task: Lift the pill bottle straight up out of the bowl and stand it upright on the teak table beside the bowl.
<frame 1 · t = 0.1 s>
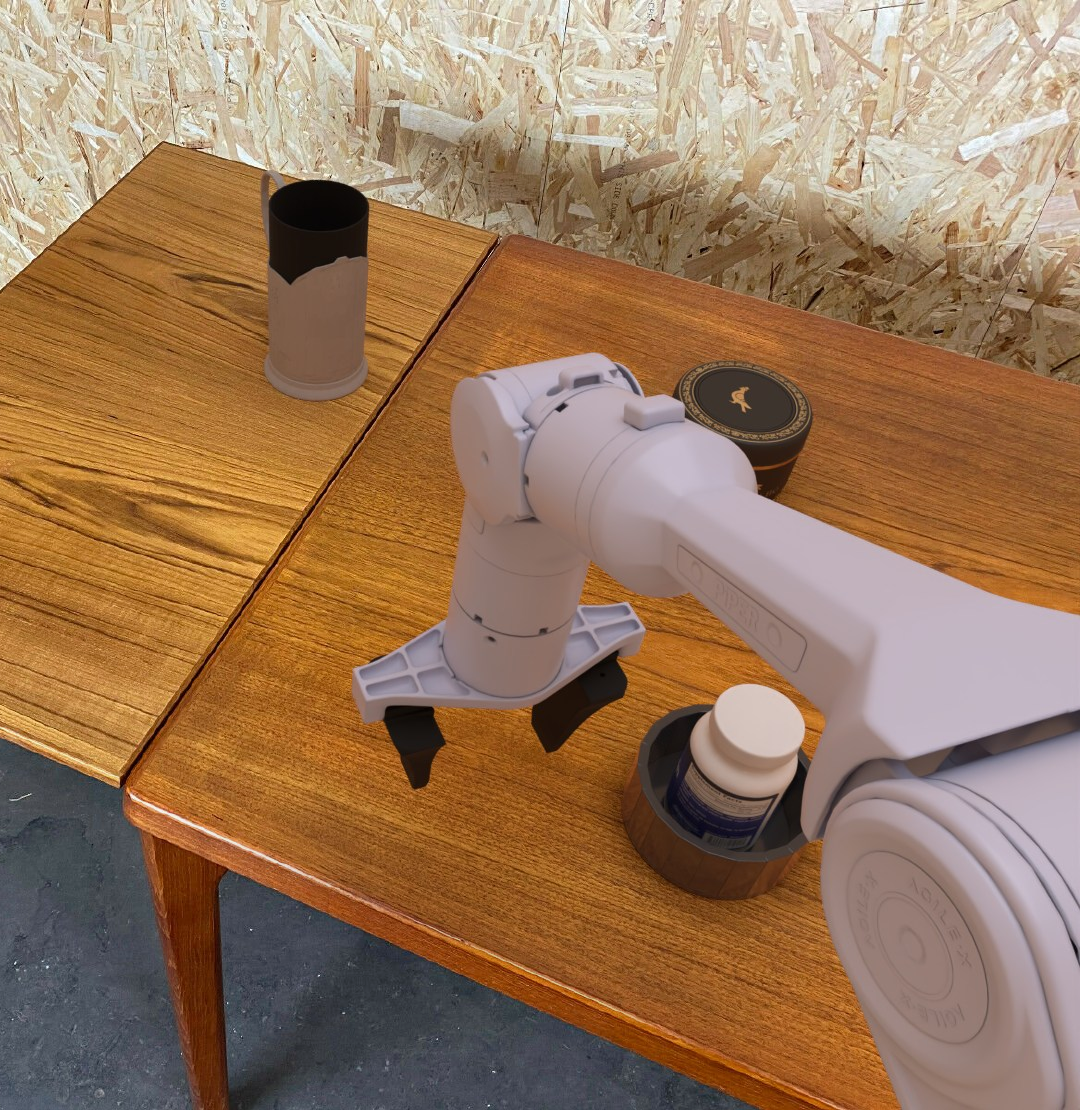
hand: (479, 754, 61), 7 cm above the table, tool pointing down, fingers open, 7 cm apart
pill bottle: (709, 817, 67), resting on bowl
jar: (715, 478, 88), on the table
bowl: (708, 819, 67), on the table
glass holder: (301, 351, 97), on the table
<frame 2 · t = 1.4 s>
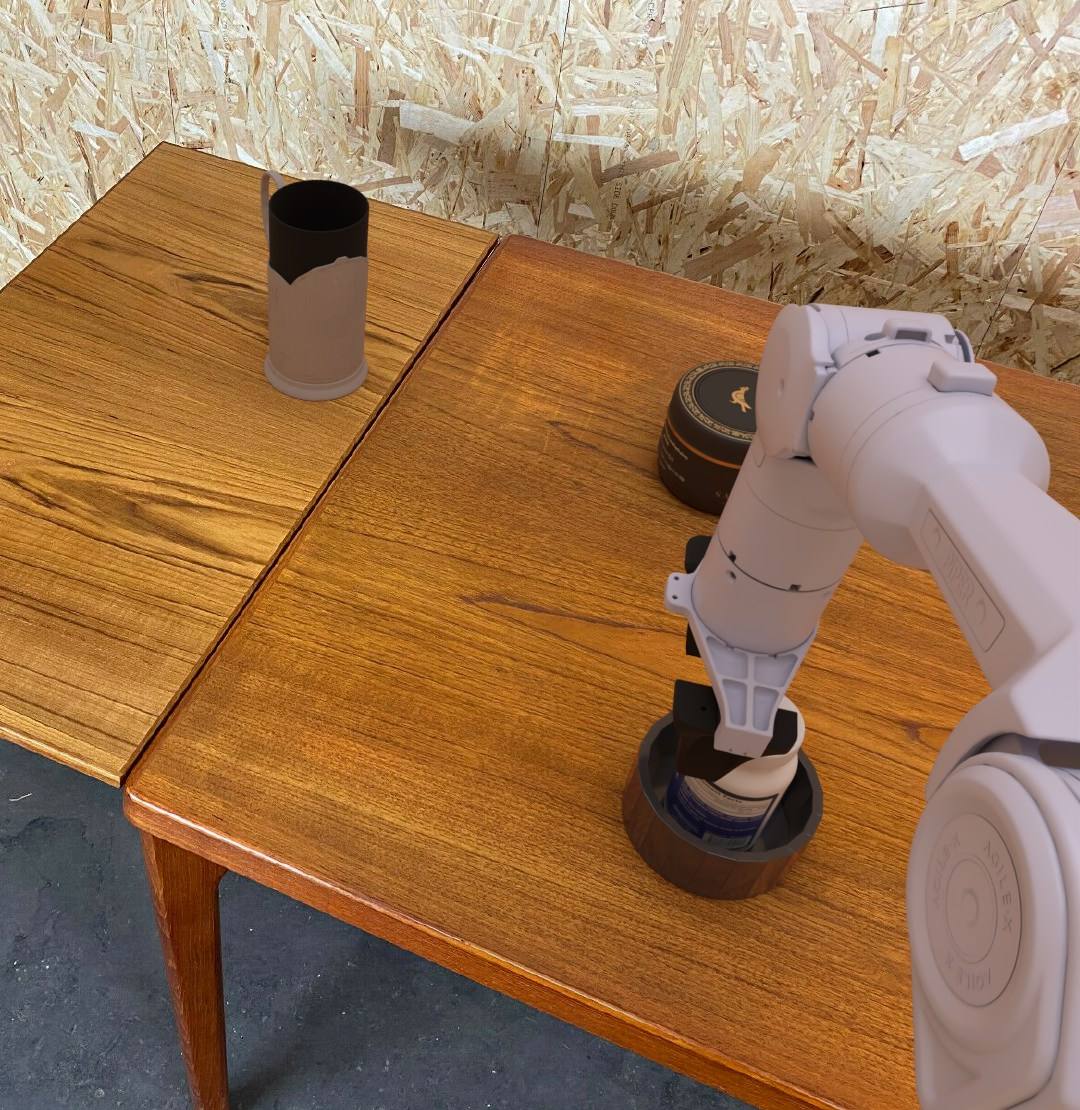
hand: (701, 710, 61), 10 cm above the table, tool pointing down, fingers open, 7 cm apart
nothing on the table moved.
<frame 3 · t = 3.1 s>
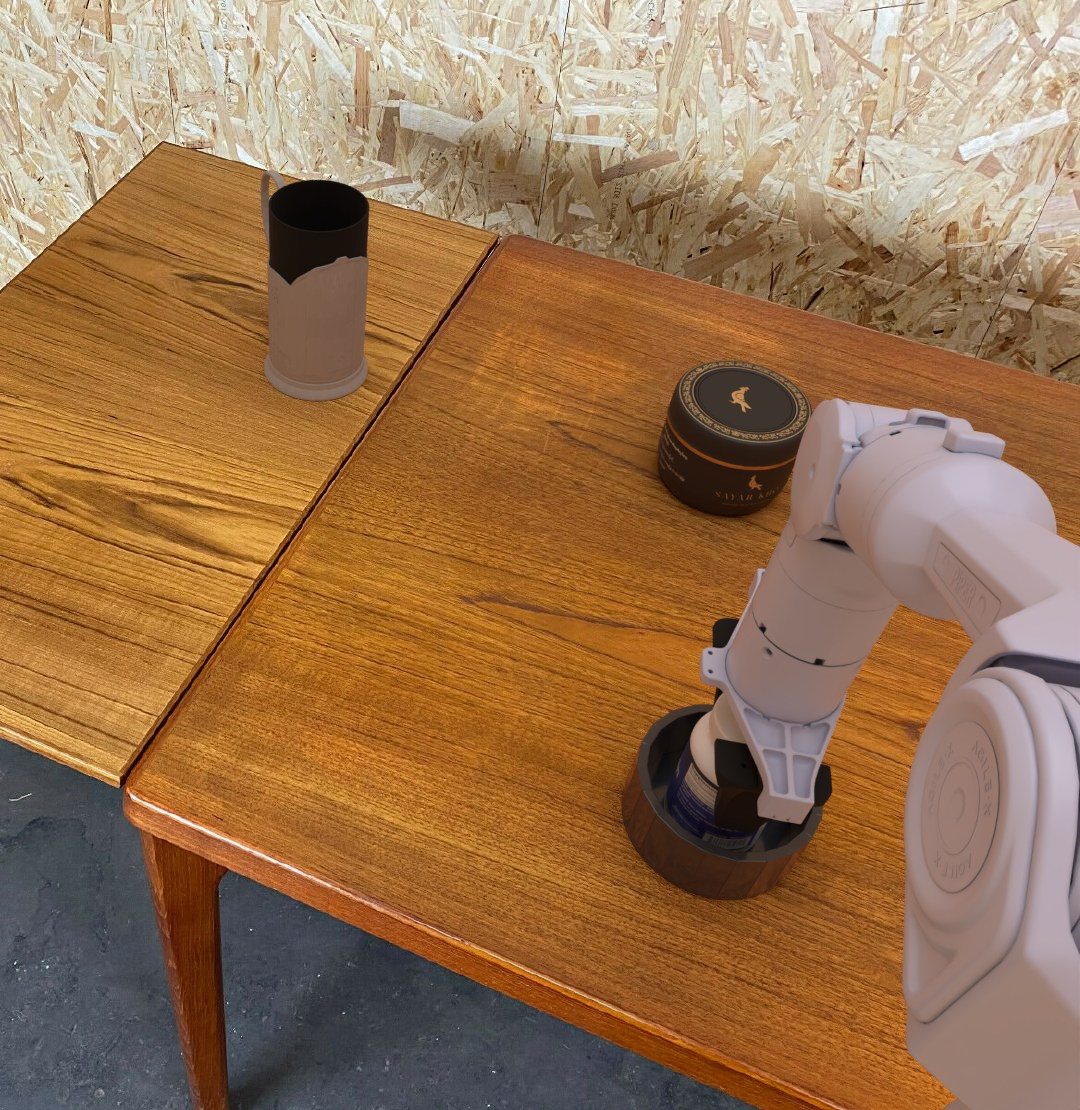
hand: (731, 774, 64), 5 cm above the table, tool pointing down, fingers closed on pill bottle, 6 cm apart
pill bottle: (709, 818, 67), resting on bowl, touching gripper
everything else where it was.
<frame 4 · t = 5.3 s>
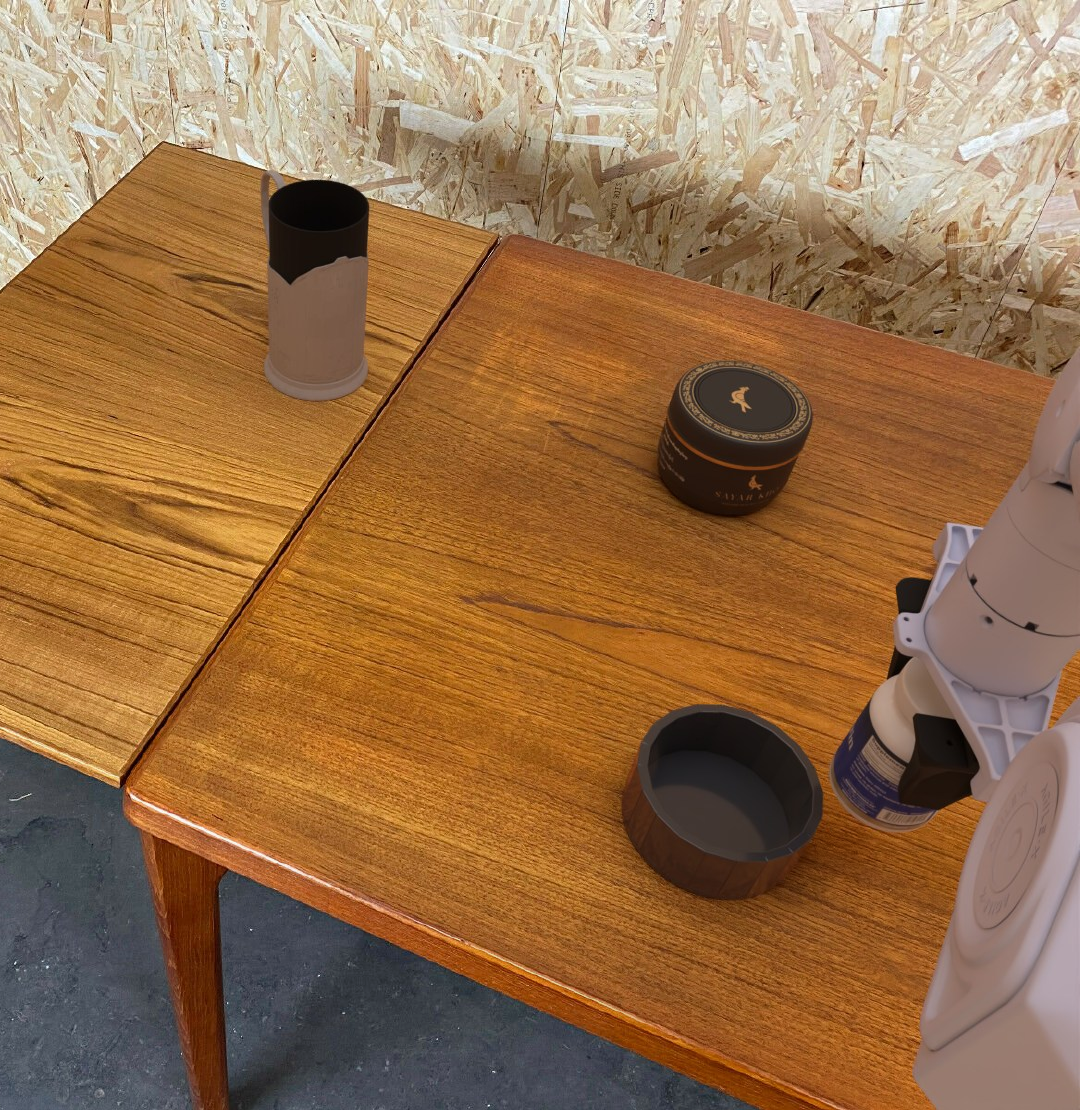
hand: (912, 745, 59), 10 cm above the table, tool pointing down, fingers closed on pill bottle, 6 cm apart
pill bottle: (878, 790, 62), point 6 cm above the table, touching gripper
everything else where it was.
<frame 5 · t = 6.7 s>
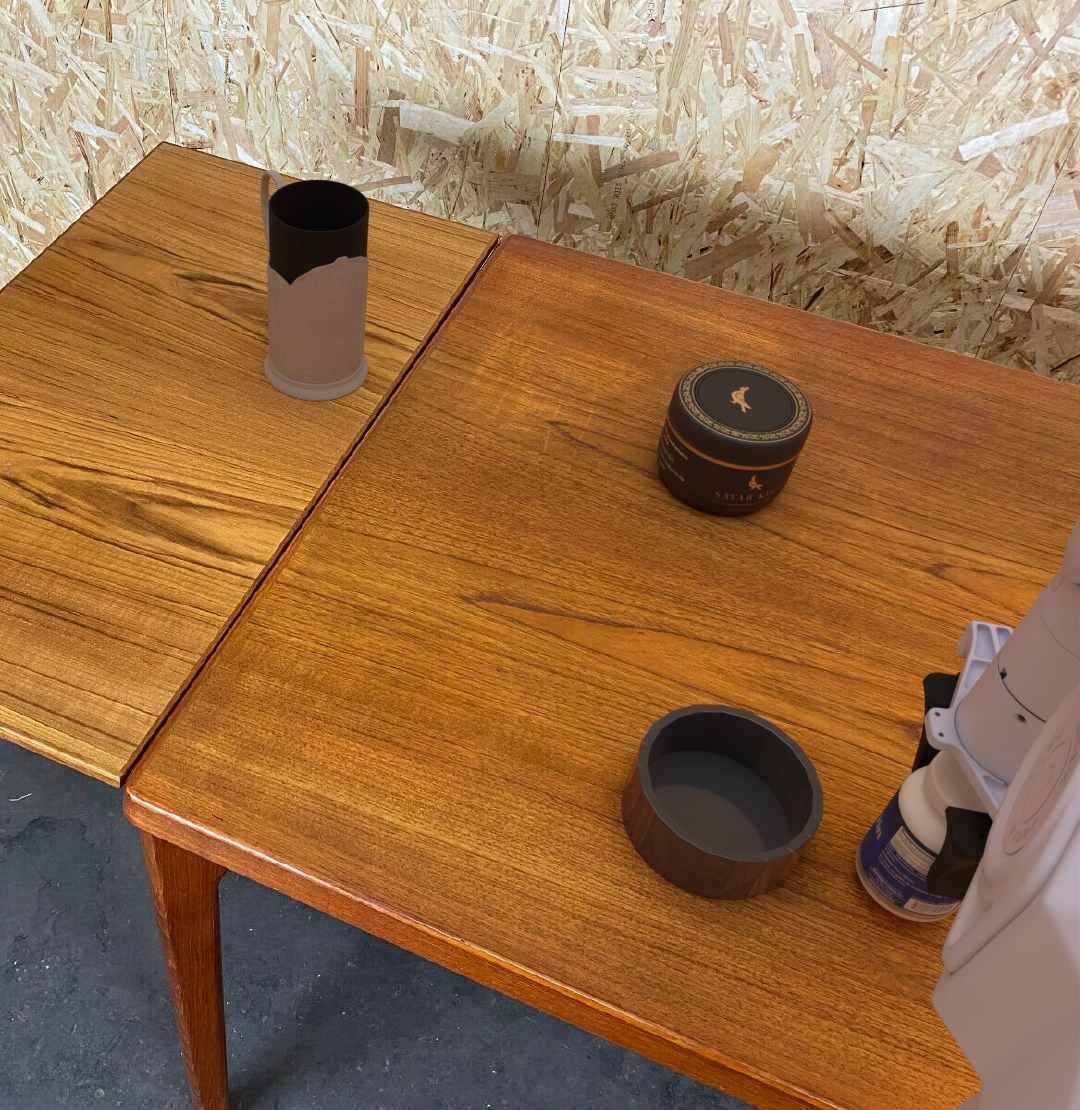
hand: (938, 836, 60), 6 cm above the table, tool pointing down, fingers closed on pill bottle, 6 cm apart
pill bottle: (903, 878, 64), point 1 cm above the table, touching gripper
everything else where it was.
when the fingers open (4 cm above the table, at t = 7.7 s): pill bottle stays where it is, on the table.
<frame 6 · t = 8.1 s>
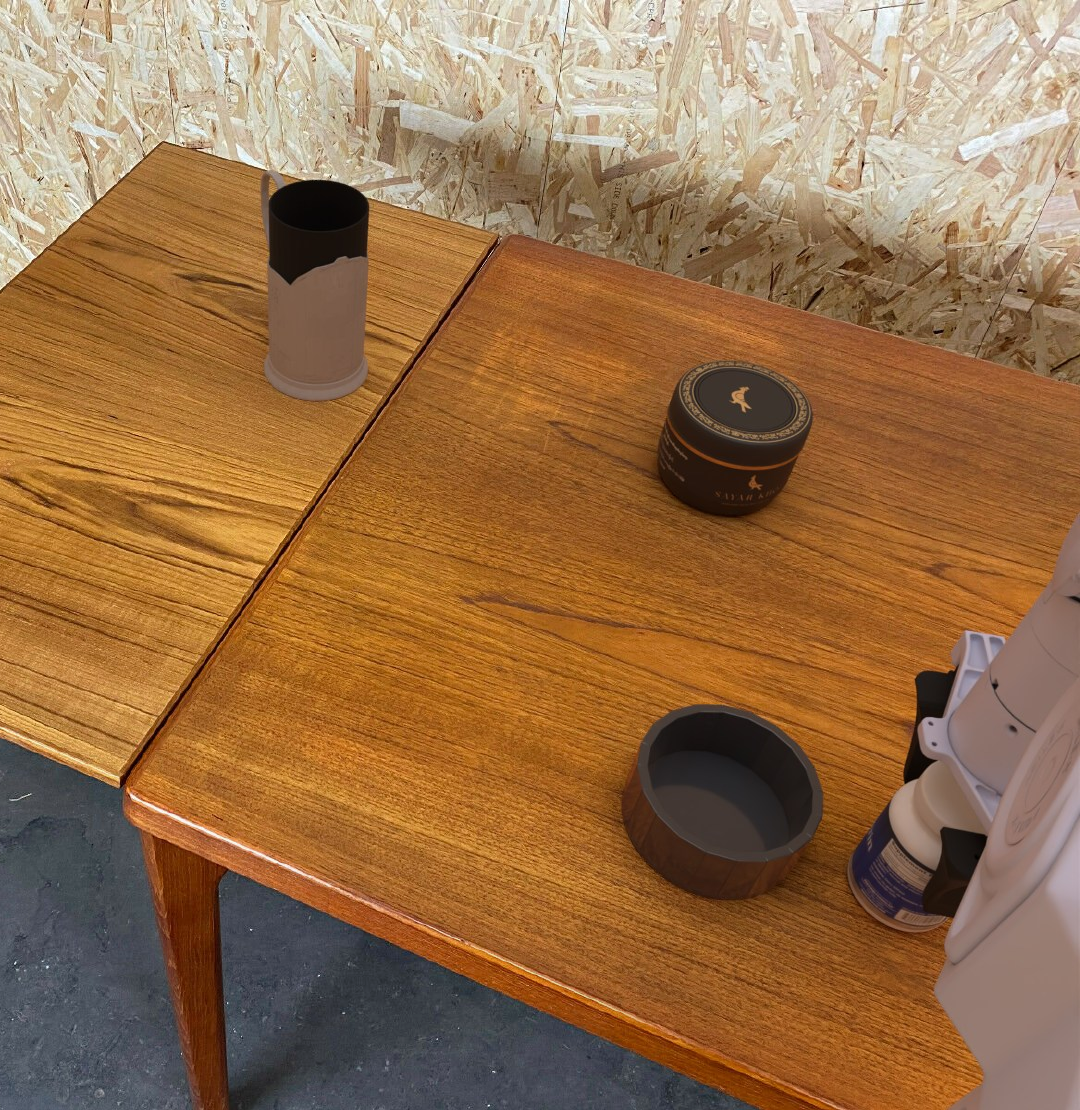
hand: (931, 843, 61), 5 cm above the table, tool pointing down, fingers open, 7 cm apart
pill bottle: (894, 889, 65), on the table
everything else where it was.
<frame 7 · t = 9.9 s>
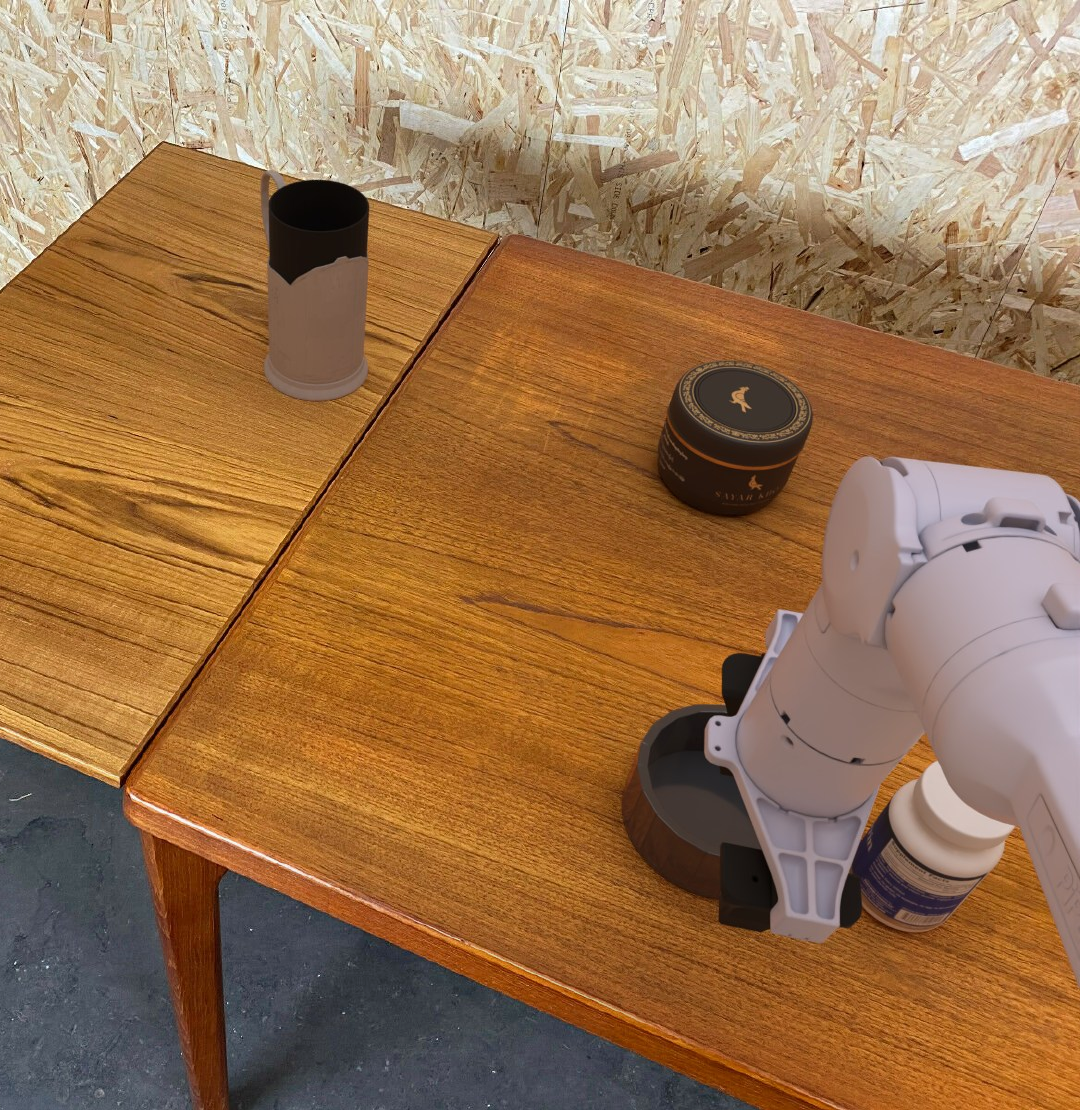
hand: (740, 843, 55), 10 cm above the table, tool pointing down, fingers open, 7 cm apart
nothing on the table moved.
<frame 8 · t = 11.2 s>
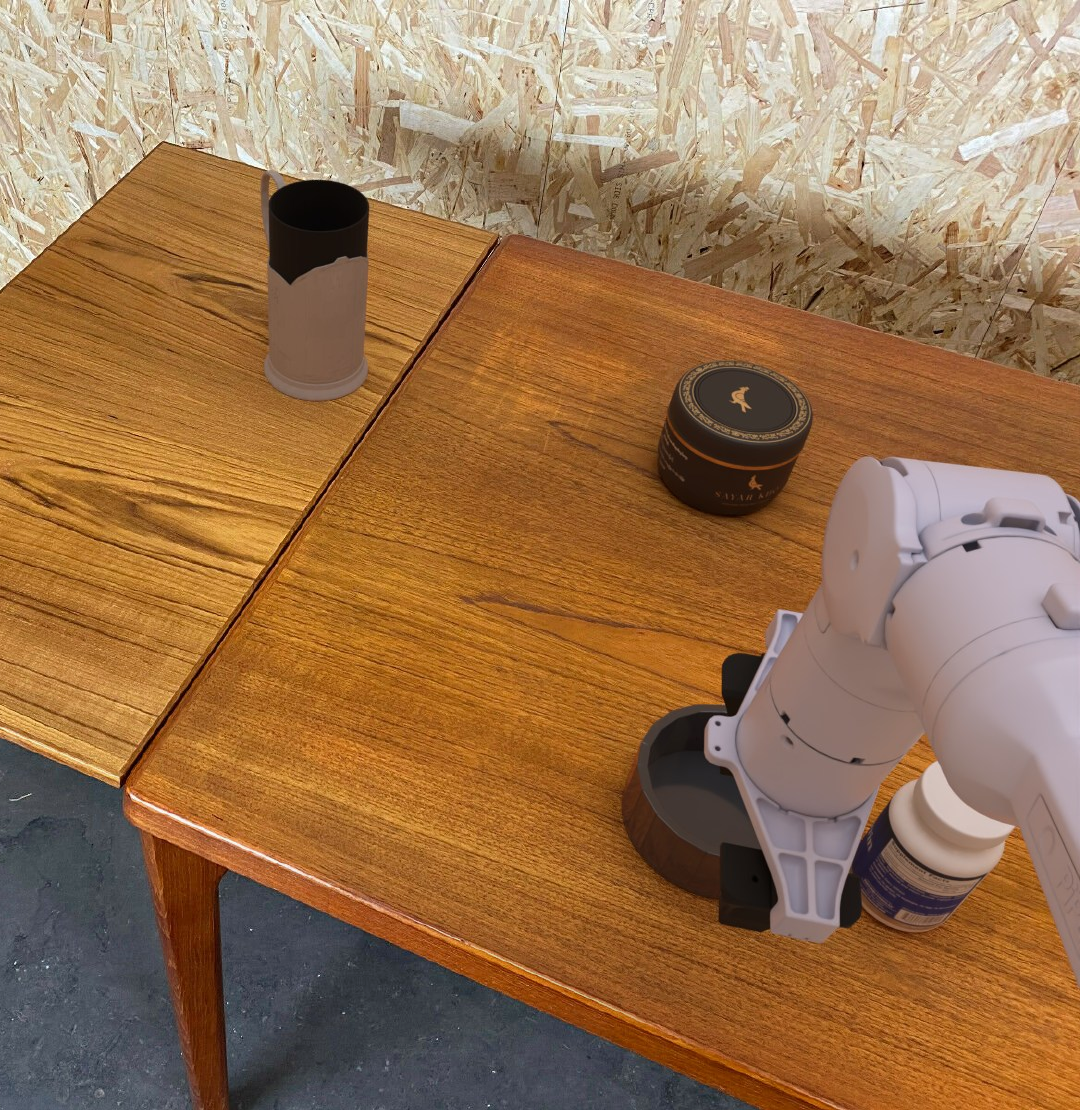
hand: (740, 843, 55), 10 cm above the table, tool pointing down, fingers open, 7 cm apart
nothing on the table moved.
at the end: pill bottle inside the target area (0.0 cm from its centre), on the table; pill bottle tilted 0°; jar moved 0.2 cm from its start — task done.
